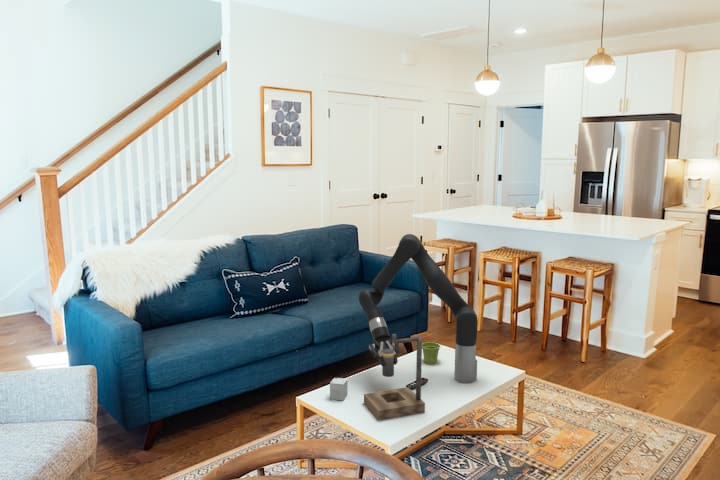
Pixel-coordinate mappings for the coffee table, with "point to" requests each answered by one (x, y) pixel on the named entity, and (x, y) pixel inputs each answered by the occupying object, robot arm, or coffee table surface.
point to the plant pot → (430, 352)
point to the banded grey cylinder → (388, 362)
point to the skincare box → (338, 389)
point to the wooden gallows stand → (398, 393)
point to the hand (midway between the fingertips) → (389, 364)
